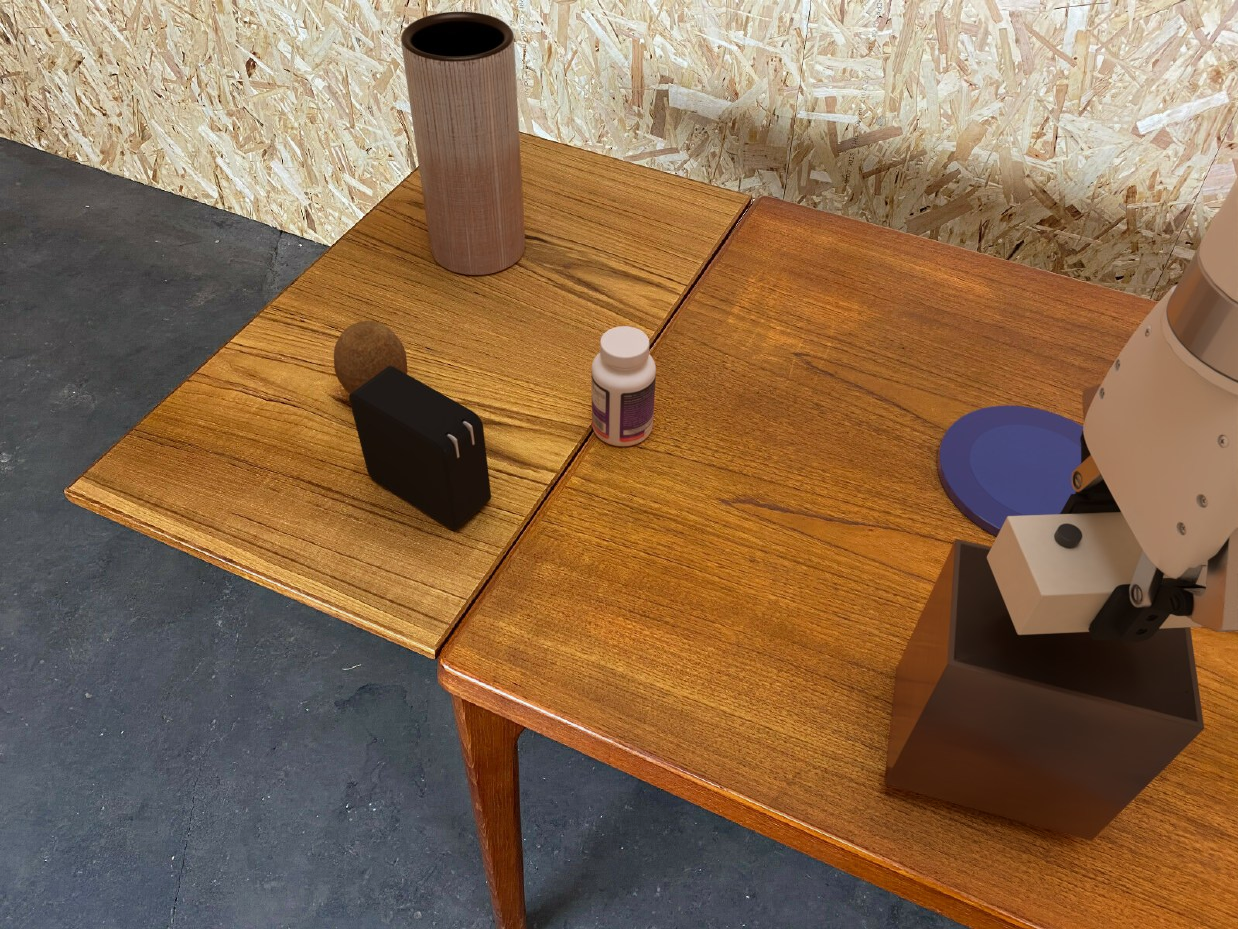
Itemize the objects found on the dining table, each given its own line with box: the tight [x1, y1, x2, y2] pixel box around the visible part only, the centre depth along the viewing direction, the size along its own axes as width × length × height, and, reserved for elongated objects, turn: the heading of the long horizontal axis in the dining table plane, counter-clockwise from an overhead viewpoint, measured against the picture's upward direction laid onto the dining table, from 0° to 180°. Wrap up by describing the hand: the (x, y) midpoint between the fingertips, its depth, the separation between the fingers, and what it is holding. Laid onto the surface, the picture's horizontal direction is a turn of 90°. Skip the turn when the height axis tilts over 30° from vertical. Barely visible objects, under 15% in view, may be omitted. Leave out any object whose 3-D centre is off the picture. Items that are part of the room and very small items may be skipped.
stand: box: [883, 538, 1205, 842], centre depth 59 cm, size 13×9×15 cm
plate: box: [936, 404, 1083, 538], centre depth 81 cm, size 16×16×1 cm
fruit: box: [333, 320, 408, 395], centre depth 83 cm, size 6×6×8 cm
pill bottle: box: [590, 325, 657, 447], centre depth 81 cm, size 5×5×10 cm
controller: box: [987, 512, 1206, 635], centre depth 49 cm, size 10×5×4 cm, turn 94°
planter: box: [400, 11, 526, 276], centre depth 93 cm, size 10×10×23 cm
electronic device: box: [348, 366, 492, 532], centre depth 75 cm, size 4×10×10 cm, turn 54°
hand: (1096, 585), depth 50 cm, fingers closed on controller, 5 cm apart
